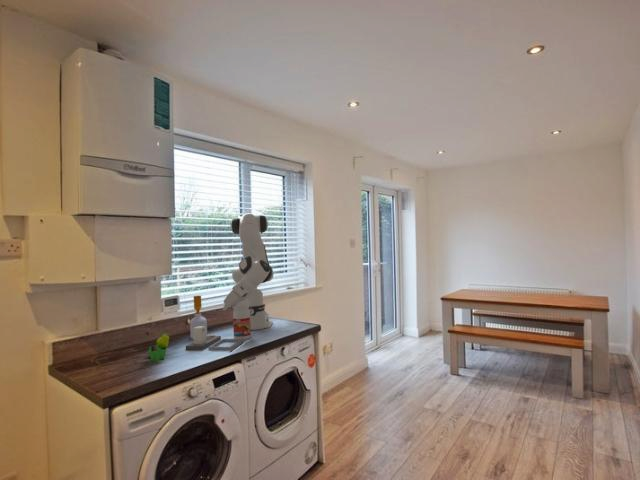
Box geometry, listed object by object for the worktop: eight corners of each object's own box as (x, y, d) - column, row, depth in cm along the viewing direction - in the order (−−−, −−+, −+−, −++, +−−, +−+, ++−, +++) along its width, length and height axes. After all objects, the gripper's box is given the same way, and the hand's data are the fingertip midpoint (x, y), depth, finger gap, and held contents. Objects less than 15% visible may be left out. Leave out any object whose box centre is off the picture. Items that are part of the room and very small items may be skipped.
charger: (198, 345, 190) (197, 326, 191) (206, 345, 190) (205, 326, 190) (194, 347, 186) (193, 328, 186) (202, 347, 185) (201, 328, 185)
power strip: (205, 341, 203) (205, 334, 203) (221, 341, 201) (220, 334, 201) (185, 352, 183) (185, 344, 183) (202, 352, 181) (202, 344, 181)
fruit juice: (254, 337, 207) (251, 287, 207) (246, 341, 198) (243, 289, 198) (239, 336, 210) (237, 287, 210) (230, 340, 201) (228, 289, 201)
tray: (222, 343, 196) (222, 338, 196) (243, 343, 194) (243, 338, 194) (208, 352, 181) (208, 347, 181) (230, 352, 178) (230, 347, 178)
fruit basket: (150, 356, 178) (149, 333, 178) (170, 353, 181) (169, 330, 182) (148, 363, 168) (147, 338, 168) (169, 360, 171) (168, 336, 171)
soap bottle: (190, 341, 204) (188, 297, 204) (191, 337, 213) (189, 295, 213) (207, 339, 207) (205, 295, 207) (207, 335, 216) (205, 293, 216)
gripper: (248, 281, 194) (232, 300, 196) (232, 286, 174) (214, 307, 176) (257, 289, 193) (240, 308, 195) (241, 295, 173) (223, 316, 175)
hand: (227, 308), depth 185 cm, fingers open, 8 cm apart
